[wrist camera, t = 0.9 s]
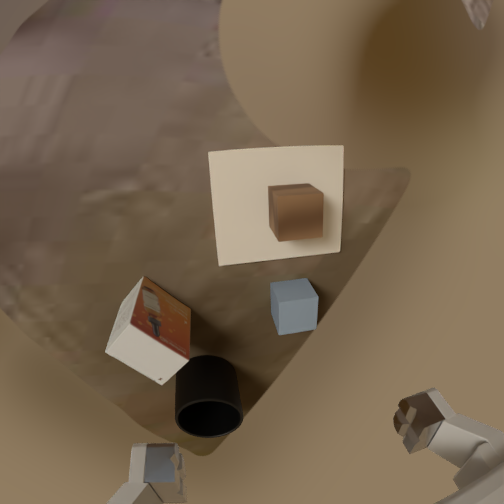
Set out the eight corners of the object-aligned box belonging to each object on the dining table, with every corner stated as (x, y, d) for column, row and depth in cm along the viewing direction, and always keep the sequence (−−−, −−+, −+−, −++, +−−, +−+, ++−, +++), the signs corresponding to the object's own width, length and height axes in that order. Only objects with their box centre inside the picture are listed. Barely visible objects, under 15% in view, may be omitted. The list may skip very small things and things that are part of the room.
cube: (270, 282, 43) (278, 302, 39) (306, 277, 44) (318, 296, 39) (271, 313, 45) (278, 335, 41) (305, 308, 46) (316, 329, 41)
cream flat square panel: (208, 151, 35) (208, 152, 35) (342, 145, 37) (343, 145, 37) (218, 264, 41) (218, 265, 40) (339, 250, 43) (340, 251, 42)
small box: (191, 308, 43) (192, 361, 33) (167, 333, 44) (162, 387, 34) (143, 273, 40) (129, 322, 30) (120, 302, 41) (103, 353, 31)
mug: (155, 386, 48) (152, 430, 40) (201, 344, 45) (203, 389, 37) (201, 409, 51) (204, 451, 43) (248, 371, 49) (257, 415, 41)
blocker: (267, 185, 37) (277, 196, 33) (308, 183, 38) (323, 193, 33) (269, 226, 39) (278, 241, 35) (308, 222, 40) (322, 237, 35)
